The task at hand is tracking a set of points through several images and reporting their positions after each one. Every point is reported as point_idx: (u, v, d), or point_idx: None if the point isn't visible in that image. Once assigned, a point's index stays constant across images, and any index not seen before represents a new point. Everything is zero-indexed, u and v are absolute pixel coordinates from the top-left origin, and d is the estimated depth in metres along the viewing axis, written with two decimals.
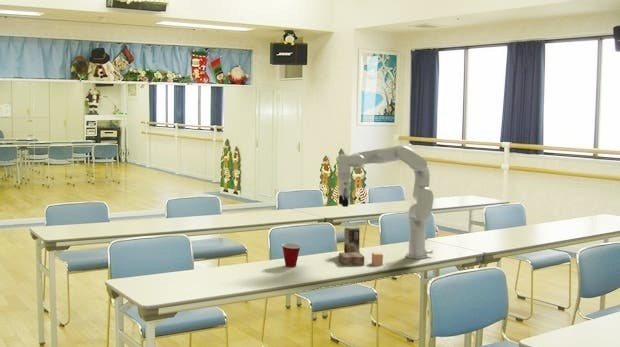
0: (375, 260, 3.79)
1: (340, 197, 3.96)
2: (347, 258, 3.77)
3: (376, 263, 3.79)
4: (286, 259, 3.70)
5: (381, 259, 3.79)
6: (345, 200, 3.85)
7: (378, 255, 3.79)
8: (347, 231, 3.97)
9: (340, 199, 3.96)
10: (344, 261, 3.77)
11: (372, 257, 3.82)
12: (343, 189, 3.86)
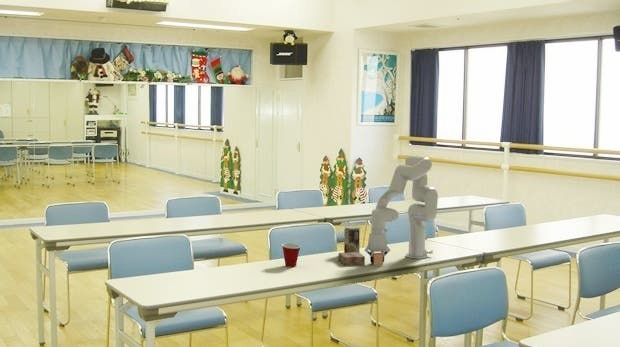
0: (375, 260, 3.79)
1: None
2: (348, 258, 3.77)
3: (376, 263, 3.79)
4: (286, 259, 3.70)
5: (381, 259, 3.79)
6: None
7: (378, 255, 3.79)
8: (347, 231, 3.97)
9: None
10: (345, 261, 3.76)
11: None
12: (386, 244, 3.80)
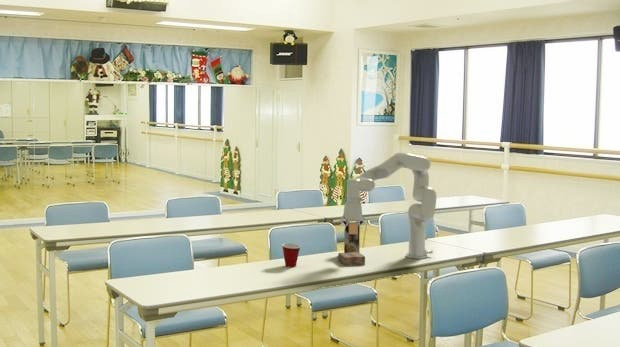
0: (350, 229, 3.79)
1: None
2: (348, 258, 3.76)
3: (351, 232, 3.79)
4: (286, 259, 3.70)
5: (356, 228, 3.79)
6: None
7: (353, 224, 3.79)
8: None
9: None
10: (345, 261, 3.76)
11: None
12: None
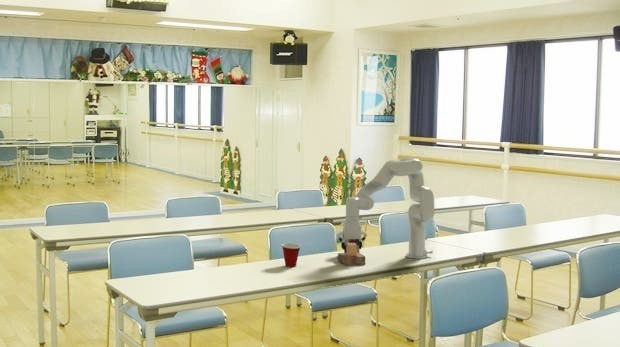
0: (349, 251, 3.80)
1: None
2: (349, 258, 3.76)
3: (350, 254, 3.80)
4: (286, 259, 3.70)
5: (355, 250, 3.81)
6: None
7: (352, 246, 3.80)
8: None
9: None
10: (346, 261, 3.76)
11: (346, 248, 3.84)
12: (361, 231, 3.81)
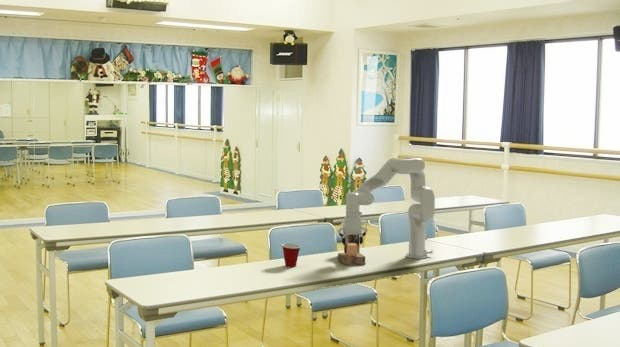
0: (349, 251, 3.80)
1: (344, 238, 3.81)
2: (349, 258, 3.76)
3: (350, 254, 3.80)
4: (286, 259, 3.70)
5: (355, 250, 3.80)
6: None
7: (352, 246, 3.80)
8: None
9: None
10: (346, 261, 3.76)
11: (347, 248, 3.83)
12: (361, 227, 3.81)
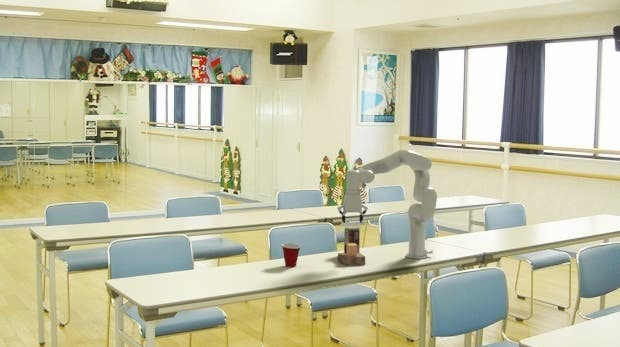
0: (349, 251, 3.80)
1: (344, 215, 3.79)
2: (349, 258, 3.76)
3: (350, 254, 3.80)
4: (286, 259, 3.70)
5: (355, 250, 3.81)
6: None
7: (352, 246, 3.80)
8: (347, 231, 3.97)
9: None
10: (346, 261, 3.76)
11: (347, 248, 3.84)
12: (361, 205, 3.80)
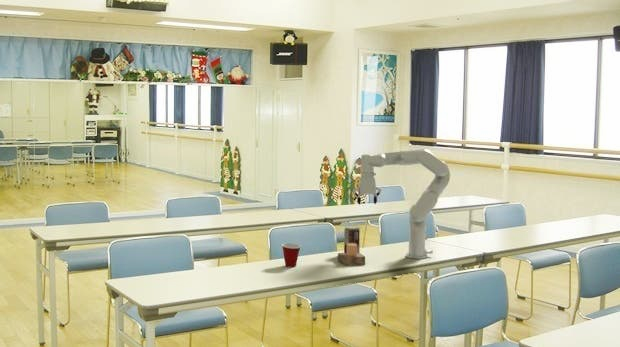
0: (349, 251, 3.80)
1: (359, 197, 4.01)
2: (348, 258, 3.76)
3: (350, 254, 3.80)
4: (286, 259, 3.70)
5: (355, 250, 3.80)
6: None
7: (352, 246, 3.80)
8: (347, 231, 3.97)
9: None
10: (346, 261, 3.76)
11: (347, 248, 3.83)
12: (375, 187, 4.02)
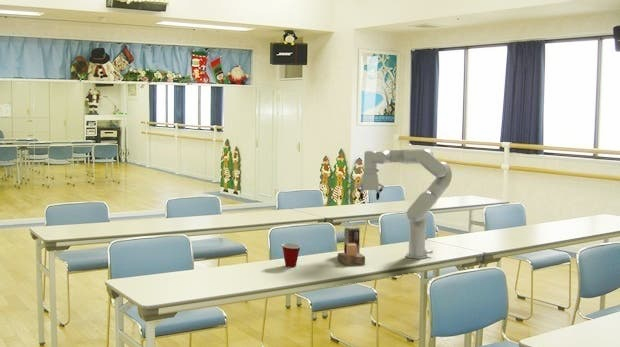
0: (349, 251, 3.80)
1: (362, 193, 4.06)
2: (348, 258, 3.77)
3: (350, 254, 3.80)
4: (286, 259, 3.70)
5: (355, 250, 3.80)
6: None
7: (352, 246, 3.80)
8: (347, 231, 3.97)
9: None
10: (345, 261, 3.76)
11: None
12: None
